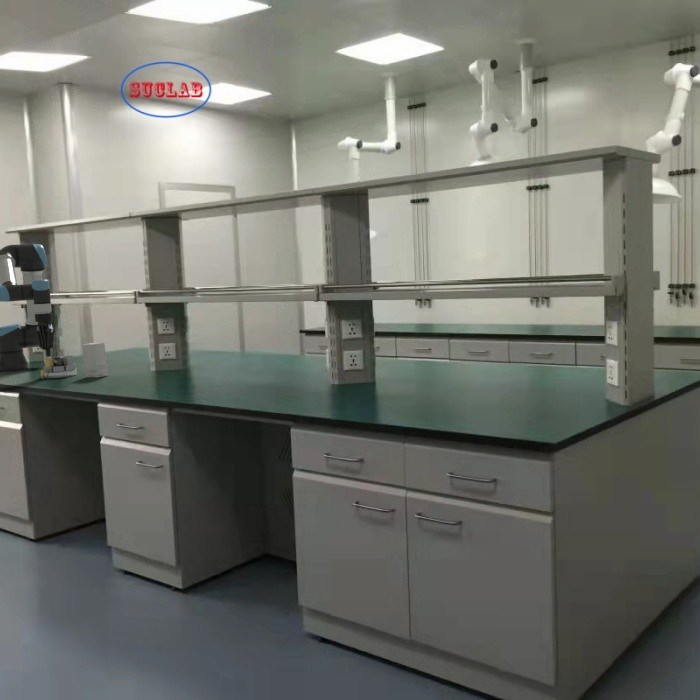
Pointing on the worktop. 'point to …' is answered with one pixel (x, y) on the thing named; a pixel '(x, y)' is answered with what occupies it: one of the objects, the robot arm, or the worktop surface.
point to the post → (42, 374)
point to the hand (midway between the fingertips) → (47, 363)
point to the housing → (60, 362)
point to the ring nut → (66, 367)
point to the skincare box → (95, 360)
